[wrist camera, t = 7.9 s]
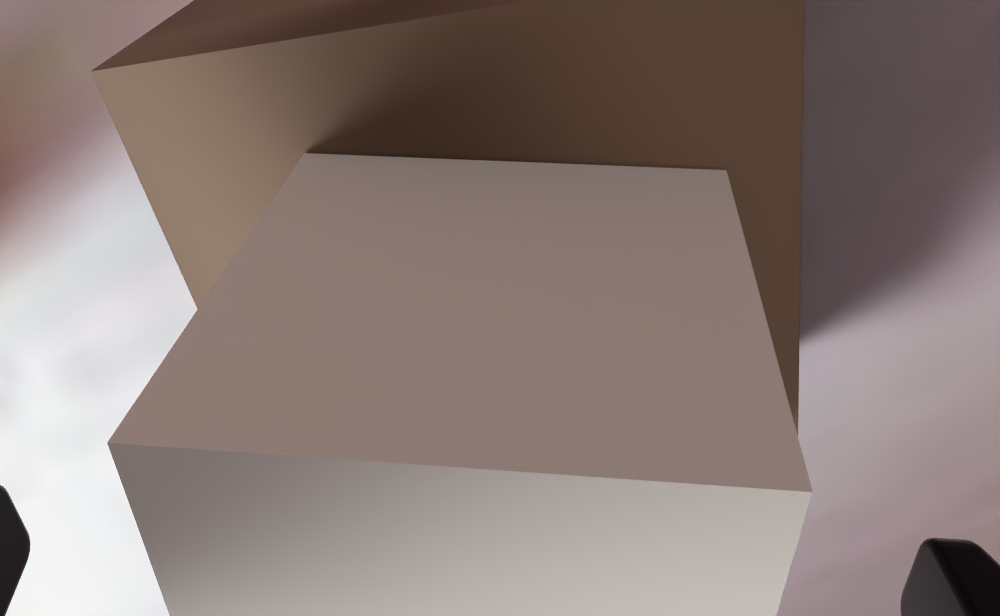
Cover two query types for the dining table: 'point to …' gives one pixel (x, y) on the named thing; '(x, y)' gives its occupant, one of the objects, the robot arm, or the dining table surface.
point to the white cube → (474, 403)
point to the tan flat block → (466, 107)
